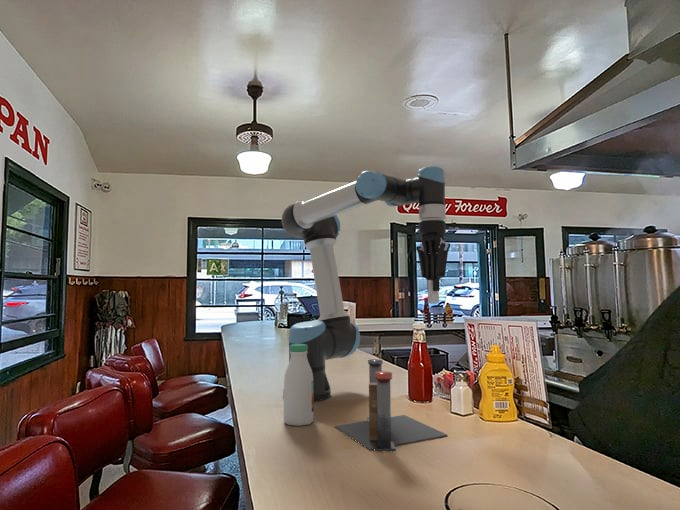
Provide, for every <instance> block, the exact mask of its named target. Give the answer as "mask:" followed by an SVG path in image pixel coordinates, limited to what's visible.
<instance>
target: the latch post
mask: <svg viewBox="0 0 680 510" xmlns="http://www.w3.org/2000/svg"><path fill="white" fill-rule="evenodd" d="M375 379H377V442H373V444H374V448H375V450H374V452H375V451H389V452H388V453H391V452H390V451H392V452H394V451H395V452H396V451H397V450H396V449H397V448H396V446H394V443H393V442H391V417H392V413H391V411H392V409H391V408H392V407H391V406H392V405H391V403H392V401H391V399H392V398H391V397H392V396H391V380H392V379H393V372H391V371H385V370H382V371H379V372H375Z"/></svg>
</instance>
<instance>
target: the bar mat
mask: <svg viewBox="0 0 680 510" xmlns="http://www.w3.org/2000/svg"><path fill="white" fill-rule="evenodd" d="M334 428H335V429H336V430H338V431H340V432H341V433H342V434H343V435H346V436H347V437H349V438H350V437H351V438H350V439H352V438H353V439H354V440H353V439H352V440H353V441H355V440H356V441H357V443H358V442H359V443H360V444H359V443H358V444H359V445H361V444H362V445H363V446H362V445H361V446H362V447H364V446H365V447H366V448H365V447H364V448H365V449H367V450H368V449H369V450H368V451H370V450H372V451H375V450H374V449H375V448H374V444H373V442H377V440H369V423H368V421H367V420H363V421H358V422H349V423H344V424H338V425H334ZM445 437H448V434H447V433H445V432H443V431H440V430H438V429H436V428H434V427H431V426H429V425H428V424H425V423H424V422H420V421H419V420H416V419H414V418H412V417H409V416H408V415H405V414H402V415H401V414H400V415H394V416H391V442H393V443H394V446H395V447H397V446H396V445H398V446H402V445H401V444H403V445H407V444H406V443H409V444H412V442H414V443H418V442H424V441H430V440H433V439H434V440H435V439H439V438H445ZM356 441H355V442H356Z"/></svg>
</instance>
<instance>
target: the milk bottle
mask: <svg viewBox="0 0 680 510" xmlns="http://www.w3.org/2000/svg"><path fill="white" fill-rule="evenodd" d="M307 350H308V346H307V345H306V344H292V345H290V353H291V358H290V362H289V361H288V365H287V367H286V369H285V373H284V379H283V390H284V397H283V422H284V423H285V424H286V425H288V426H296V427H300V426H301V427H302V426H308V425H310V424H312V423H313V422H314V413H315V412H314V411H315V409H314V402H315V401H314V395H313V373H312V370H311V367H310V365H309V363H308V360H307V353H308V352H307Z"/></svg>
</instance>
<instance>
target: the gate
mask: <svg viewBox="0 0 680 510" xmlns="http://www.w3.org/2000/svg"><path fill="white" fill-rule="evenodd" d="M368 407H369V408H368V417H369V440H377V383H368Z"/></svg>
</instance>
